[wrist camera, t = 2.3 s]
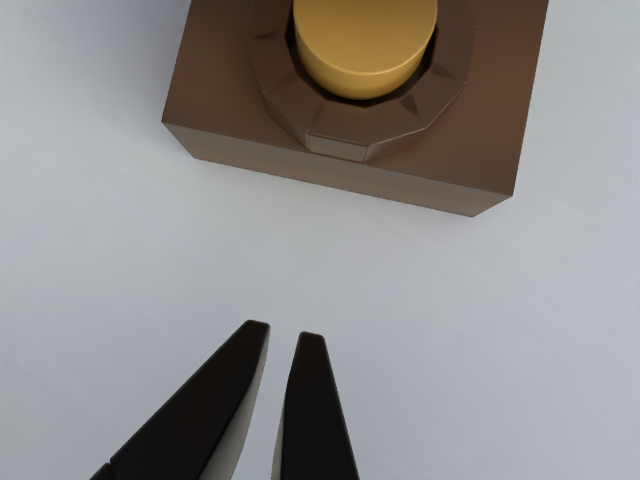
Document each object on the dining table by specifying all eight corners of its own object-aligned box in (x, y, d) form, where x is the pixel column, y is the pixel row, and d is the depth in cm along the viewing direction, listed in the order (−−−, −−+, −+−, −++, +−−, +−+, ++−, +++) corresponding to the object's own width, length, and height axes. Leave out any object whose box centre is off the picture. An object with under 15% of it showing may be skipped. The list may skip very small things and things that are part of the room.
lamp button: (410, 112, 18) (422, 88, 16) (283, 86, 18) (278, 58, 16) (435, -9, 18) (450, -48, 16) (311, -35, 18) (310, -77, 16)
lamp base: (472, 217, 24) (535, 184, 17) (193, 158, 24) (141, 101, 17) (527, -69, 25) (606, -209, 18) (261, -122, 25) (239, -281, 18)
